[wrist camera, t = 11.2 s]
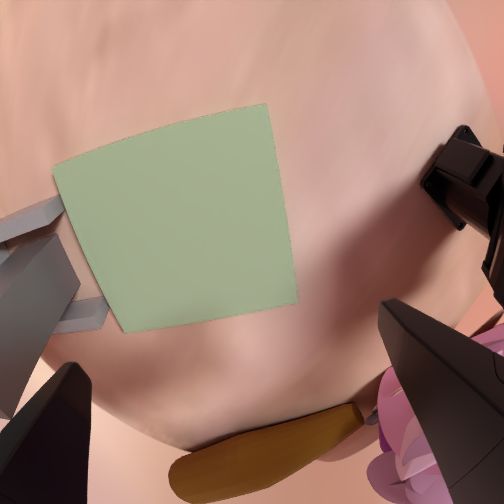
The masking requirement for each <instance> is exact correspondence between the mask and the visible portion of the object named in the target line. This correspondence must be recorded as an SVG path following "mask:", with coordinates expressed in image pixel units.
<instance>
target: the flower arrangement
mask: <svg viewBox="0 0 504 504" xmlns="http://www.w3.org/2000/svg"><path fill="white" fill-rule="evenodd" d="M471 339H473V340H474V341H476V342H478V343H480V344H482V345H483V346H485V347H487V348H489V349H491V350H492V352H493V351H494V352H496V353H498V354H500V355H502V356H503V357H504V323H502V324H499V325H497V326H495V327H494V328H493V329H490V330H488V331H486V332H484V333H482V334H479V335H477V336H475V337H472V338H471ZM378 422H379V440H380V447H381V449H382V451H383V452H384V453H383V454H381V455H379V456H378V457H376V458H375V459H374V460H373V461H372V462H371V463H370V464H369V466H368V468H367V477H368V480H369V482H370V484H371V486H372V487H373V489H374V490H375V491H376V492H377V493H378V494H379V495H380V496H382V497H383V498H384V499H386V500H388V501H390V502H393V503H396V504H453V502H452V499H451V497H450V494H449V492H448V488H447V486H446V484H445V481H444V479H443V476H442V474H441V471H440V469H439V467H438V464H437V462H436V460H435V457H434V455H433V453H432V450H431V448H430V446H429V444H428V441H427V439H426V437H425V435H424V433H423V430H422V428H421V426H420V424H419V422H418V420H417V418H416V415H415V413H414V411H413V409H412V407H411V405H410V403H409V401H408V399H407V397H406V395H405V393H404V391H403V389H402V387H401V385H400V383H399V381H398V378H397V376H396V374H395V372H394V369H393V367H389V368H388V369H387V370H386V372H385V374H384V375H383V377H382V380H381V383H380V387H379V391H378V404H377V405H376V406H375V407H374V409H373V410H372V414H371V415H370V416H369V417H368V418H367V419H366V421H365V425H373V424H376V423H378Z"/></svg>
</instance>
